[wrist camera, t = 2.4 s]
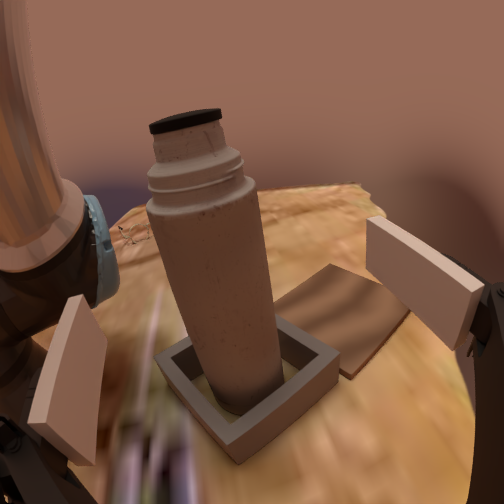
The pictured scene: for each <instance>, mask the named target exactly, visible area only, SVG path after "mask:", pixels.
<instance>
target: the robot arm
mask: <svg viewBox="0 0 504 504" xmlns="http://www.w3.org/2000/svg"><path fill="white" fill-rule="evenodd" d="M366 269H367V270H368V271H369V272H370V273H371V274H372V275H373V276H374V277H375V278H377V279H378V280H379V281H380V282H381V283H382V284H383V285H384V286H385V287H386V288H388V289H389V290H390V291H391V292H392V293H393V294H394V295H395V296H396V297H397V298H398V299H399V300H400V301H401V302H403V303H404V304H405V305H406V306H407V307H408V308H409V309H410V310H411V311H412V312H413V313H414V314H415V315H416V316H417V317H418V318H419V319H420V320H421V321H422V322H423V323H424V324H425V325H426V326H427V327H429V328H430V329H431V330H432V331H433V332H434V333H435V334H436V335H437V336H438V337H439V338H440V339H441V340H442V341H443V342H444V343H445V344H446V345H447V346H448V347H449V348H450V350H451V351H454V350H455V349H457V348H458V347H460V346H461V345H463V344H464V343H465V342H466V339H467V336H468V334H469V331H470V332H471V333H472V334H473V335H474V337H473V340H472V342H471V345H470V347H469V350H468V352H467V357H469V356H470V353H471V351H472V350H473V356H472V357H474V370H475V396H476V418H475V442H474V455H473V465H472V474H471V481H470V488H469V494H468V499H467V503H466V504H504V283H503V282H499V283H495V284H493V285H491V284H490V283H489V282H487V281H486V280H485V279H483V278H482V277H480V276H479V275H478V274H476V273H475V272H473V271H472V270H471V269H468V268H467V267H466V266H465V265H463V264H461V263H460V262H459V261H458V260H456V259H454V258H453V257H451V256H449V255H446V254H443V253H439V252H437V251H436V250H434V249H433V248H431V247H430V246H428V245H427V244H425V243H424V242H422V241H421V240H419V239H417V238H416V237H414V236H413V235H411V234H409V233H408V232H406V231H405V230H403V229H401V228H400V227H398V226H396V225H395V224H393V223H392V222H390V221H388V220H387V219H385V218H383V217H382V216H380V215H378V216H374V217H370V218H367V231H366ZM119 285H120V275H119V269H118V264H117V259H116V255H115V251H114V248H113V246H112V244H111V238H110V233H109V229H108V226H107V223H106V219H105V216H104V213H103V211H102V208H101V206H100V204H99V201H98V200H97V198H96V197H95V196H93V195H83V194H82V192H81V190H80V189H79V188H78V187H77V185H76V184H74V183H73V182H71V181H68V180H66V179H62V178H61V177H60V174H59V170H58V167H57V164H56V161H55V158H54V154H53V151H52V147H51V143H50V140H49V136H48V133H47V128H46V125H45V121H44V116H43V112H42V108H41V103H40V98H39V93H38V88H37V83H36V78H35V72H34V65H33V59H32V51H31V44H30V34H29V23H28V8H27V0H0V504H98V503H97V502H96V501H95V500H94V498H93V497H92V496H91V495H90V493H89V492H88V491H87V490H86V489H85V487H84V486H83V485H82V483H81V482H80V481H79V479H78V478H77V477H76V476H75V474H74V473H73V471H72V470H70V469H69V468H68V467H67V462H68V459H69V460H70V461H71V462H73V463H74V464H75V465H77V466H95V456H96V437H97V423H98V412H99V402H100V392H101V384H102V376H103V369H104V362H105V356H106V349H107V343H108V340H107V338H106V337H105V335H104V333H103V331H102V330H101V328H100V326H99V324H98V322H97V321H96V319H95V317H94V315H93V313H92V311H91V309H93V308H96V307H97V306H98V305H99V304H100V303H101V302H103V301H105V300H107V299H109V298H111V297H112V296H114V295H115V294H116V292H117V291H118V289H119ZM56 324H58V326H57V328H56V331H55V333H54V336H53V339H52V342H51V344H50V347H49V350H48V351H47V350H45V349H44V348H43V347H41V346H40V345H39V344H37V343H36V342H35V341H34V340H33V339H32V338H31V336H33V335H35V334H37V333H39V332H41V331H43V330H45V329H47V328H49V327H51V326H54V325H56ZM4 495H5V496H7V497H8V503H7V502H6V501H5V497H4Z"/></svg>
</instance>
